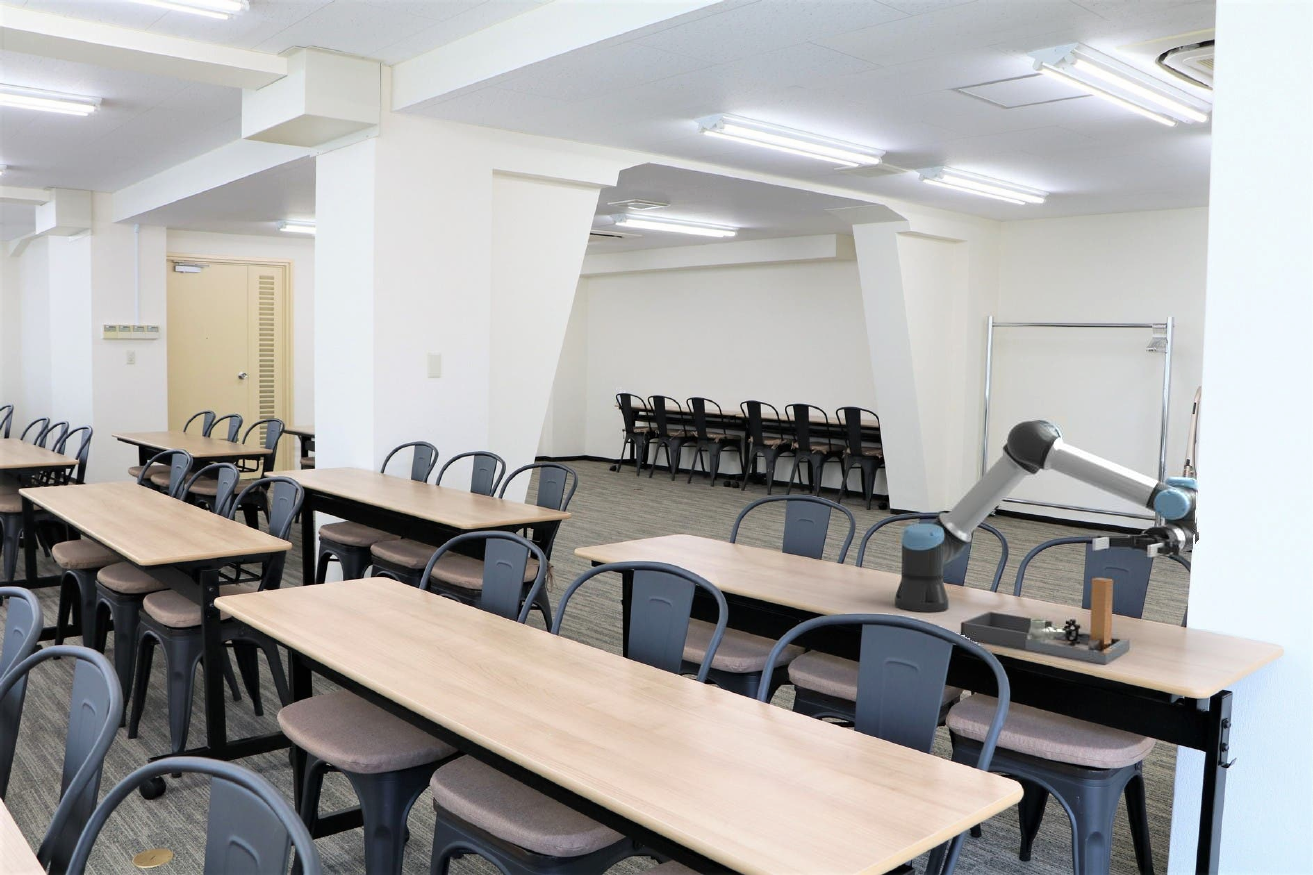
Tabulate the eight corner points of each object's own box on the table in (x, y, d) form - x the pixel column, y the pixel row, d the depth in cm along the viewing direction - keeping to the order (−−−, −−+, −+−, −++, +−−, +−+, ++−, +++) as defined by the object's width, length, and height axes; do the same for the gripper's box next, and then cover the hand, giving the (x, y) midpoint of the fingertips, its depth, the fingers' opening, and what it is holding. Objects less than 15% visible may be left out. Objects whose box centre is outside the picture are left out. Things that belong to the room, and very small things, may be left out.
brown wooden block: (1100, 647, 242) (1102, 574, 241) (1117, 650, 240) (1120, 576, 239) (1082, 657, 232) (1084, 581, 232) (1100, 660, 230) (1102, 584, 229)
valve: (1036, 650, 239) (1082, 648, 241) (1037, 623, 239) (1082, 622, 241) (1022, 643, 246) (1066, 642, 248) (1022, 617, 245) (1067, 616, 247)
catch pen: (989, 626, 263) (989, 611, 263) (1051, 636, 252) (1052, 621, 252) (960, 638, 250) (961, 622, 250) (1025, 649, 239) (1026, 633, 239)
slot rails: (1052, 636, 252) (1052, 627, 252) (1129, 649, 240) (1129, 639, 240) (1025, 650, 239) (1025, 639, 239) (1105, 664, 227) (1106, 653, 226)
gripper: (1213, 561, 244) (1173, 570, 231) (1114, 549, 264) (1072, 556, 251) (1214, 530, 244) (1173, 538, 231) (1115, 521, 263) (1072, 527, 250)
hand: (1120, 547), depth 241 cm, fingers open, 13 cm apart
